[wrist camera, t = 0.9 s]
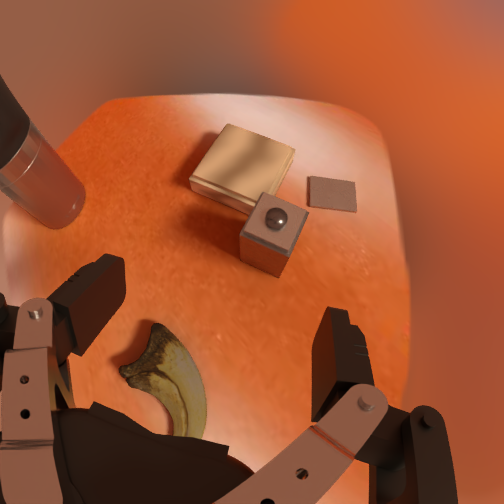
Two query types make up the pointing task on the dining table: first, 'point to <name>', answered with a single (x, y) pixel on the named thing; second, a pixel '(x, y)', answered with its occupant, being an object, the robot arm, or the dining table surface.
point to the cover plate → (332, 194)
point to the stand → (241, 168)
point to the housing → (271, 233)
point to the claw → (170, 381)
